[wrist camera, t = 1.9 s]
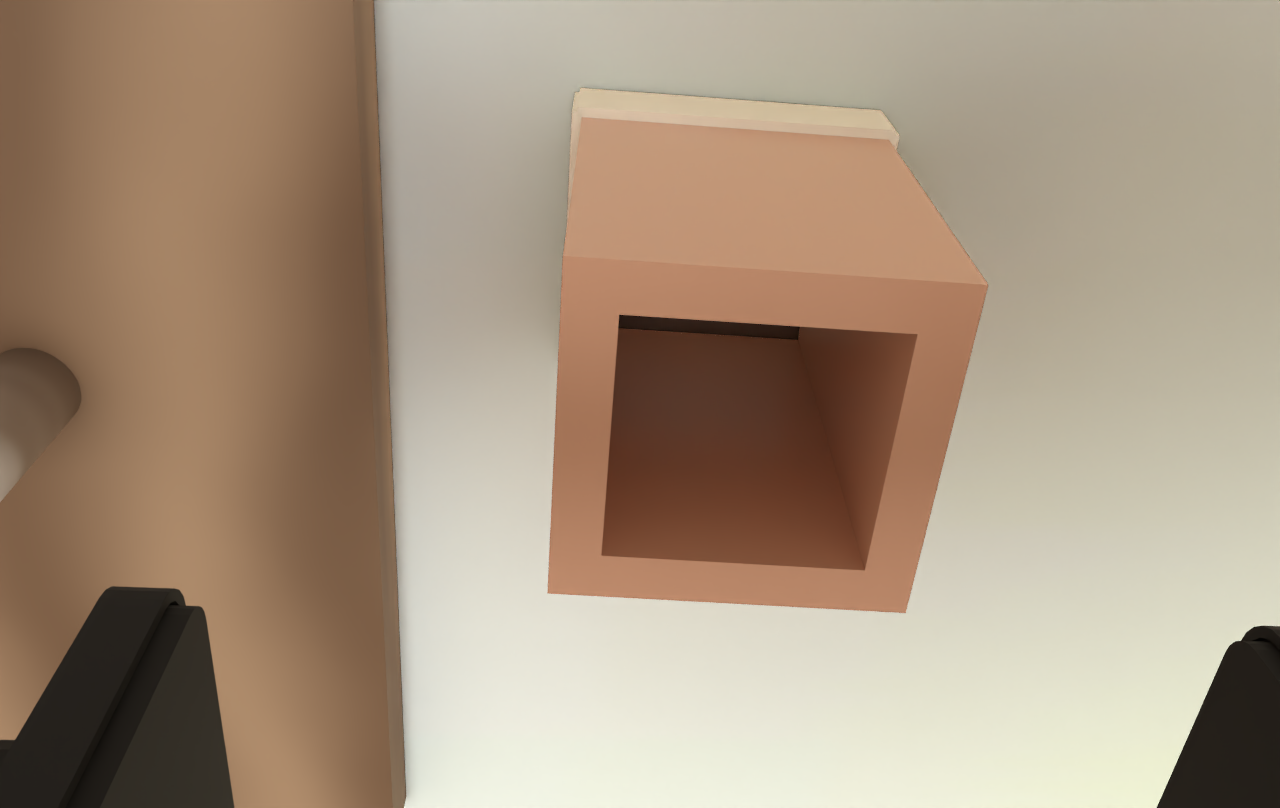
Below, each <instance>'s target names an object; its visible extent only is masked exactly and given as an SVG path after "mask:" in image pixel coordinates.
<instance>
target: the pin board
mask: <svg viewBox="0 0 1280 808" xmlns="http://www.w3.org/2000/svg"><path fill="white" fill-rule="evenodd" d="M111 586H118V587H147V588H175V589H178V590H180V591H181V593H182V594H183V596H184V600H185V604H186V606H200V607H202V608H203V610H204V612H205V616H206V620H207V627H208V634H209V640H210V647H211V654H212V660H213V667H214V674H215V680H216V687H217V694H218V701H219V707H220V714H221V721H222V727H223V734H224V741H225V747H226V754H227V761H228V768H229V774H230V781H231V788H232V794H233V801H234V808H404V804H405V799H406V786H405V761H404V737H403V713H402V688H401V664H400V639H399V615H398V590H397V566H396V541H395V517H394V492H393V468H392V443H391V419H390V394H389V370H388V345H387V321H386V297H385V272H384V248H383V223H382V199H381V174H380V150H379V125H378V101H377V76H376V52H375V27H374V3H373V0H0V740H15V739H16V738H17V736H18V734H19V732H20V731H21V729H22V727H23V726H24V724H25V722H26V721H27V719H28V717H29V716H30V714H31V712H32V710H33V709H34V707H35V705H36V704H37V702H38V700H39V699H40V697H41V695H42V694H43V692H44V690H45V688H46V687H47V685H48V683H49V682H50V680H51V678H52V677H53V675H54V673H55V672H56V670H57V668H58V667H59V665H60V663H61V661H62V660H63V658H64V656H65V655H66V653H67V651H68V650H69V648H70V646H71V645H72V643H73V641H74V639H75V638H76V636H77V634H78V633H79V631H80V629H81V628H82V626H83V624H84V623H85V621H86V619H87V617H88V616H89V614H90V612H91V611H92V609H93V607H94V606H95V604H96V602H97V601H98V599H99V597H100V596H101V595H102V593H103V592H104V591H105V590H106V589H108V588H109V587H111Z"/></svg>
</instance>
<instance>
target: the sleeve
mask: <svg viewBox="0 0 1280 808" xmlns="http://www.w3.org/2000/svg"><path fill="white" fill-rule="evenodd" d="M899 136H900V135H899V134H898V133H897V131H896V130H895V129H894V127H893V126H892V124H891V123H890V122H889V120H888V119H887V117H886V116H885V115H884V113H883V112H882V111H881V110H870V109H857V108H844V107H830V106H817V105H804V104H790V103H777V102H764V101H750V100H737V99H724V98H710V97H697V96H684V95H670V94H657V93H644V92H630V91H617V90H604V89H590V88H580V92H575V96H574V102H573V108H572V121H571V143H570V164H569V186H568V208H567V229H566V236H565V244H564V251H563V264H562V286H561V308H560V330H559V353H558V375H557V397H556V419H555V441H554V464H553V486H552V508H551V530H550V552H549V575H548V593H551V594H569V595H587V596H606V597H624V598H642V599H661V600H679V601H697V602H716V603H734V604H752V605H771V606H789V607H807V608H826V609H844V610H862V611H881V612H899V613H906V609H907V605H908V601H909V597H910V593H911V589H912V585H913V581H914V577H915V573H916V569H917V565H918V561H919V557H920V553H921V549H922V545H923V541H924V538H925V534H926V530H927V526H928V522H929V518H930V514H931V510H932V506H933V502H934V498H935V494H936V490H937V486H938V482H939V478H940V474H941V470H942V466H943V462H944V458H945V454H946V450H947V447H948V443H949V439H950V435H951V431H952V427H953V423H954V419H955V415H956V411H957V407H958V403H959V399H960V395H961V391H962V387H963V383H964V379H965V375H966V371H967V367H968V363H969V359H970V356H971V352H972V348H973V344H974V340H975V336H976V332H977V328H978V324H979V320H980V316H981V312H982V308H983V304H984V300H985V296H986V292H987V288H988V284H987V282H986V281H985V279H984V278H983V276H982V275H981V273H980V272H979V271H978V269H977V268H976V266H975V265H974V263H973V262H972V260H971V259H970V257H969V256H968V254H967V253H966V252H965V250H964V249H963V247H962V246H961V244H960V243H959V241H958V240H957V238H956V237H955V235H954V234H953V233H952V231H951V230H950V228H949V227H948V225H947V224H946V222H945V221H944V219H943V218H942V216H941V215H940V214H939V212H938V211H937V209H936V208H935V206H934V205H933V203H932V202H931V200H930V199H929V197H928V196H927V195H926V193H925V192H924V190H923V189H922V187H921V186H920V184H919V183H918V181H917V180H916V179H915V177H914V176H913V174H912V173H911V171H910V170H909V168H908V167H907V165H906V164H905V162H904V161H903V160H902V158H901V157H900V155H899V154H898V152H897V147H898V141H899ZM619 315H632V316H647V317H662V318H678V319H693V320H708V321H723V322H738V323H753V324H768V325H784V326H799V327H800V330H799V336H798V340H792V339H777V338H762V337H746V336H731V335H716V334H701V333H685V332H670V331H655V330H639V329H624V328H618V325H619Z"/></svg>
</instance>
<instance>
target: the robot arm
mask: <svg viewBox="0 0 1280 808" xmlns="http://www.w3.org/2000/svg"><path fill="white" fill-rule="evenodd" d="M0 808H234V801H233V794H232V788H231V781H230V774H229V768H228V761H227V754H226V747H225V741H224V734H223V727H222V721H221V714H220V707H219V701H218V694H217V687H216V680H215V674H214V667H213V660H212V654H211V647H210V640H209V634H208V627H207V620H206V616H205V612H204V610H203V608H202V607H200V606H186V604H185V600H184V596H183V594H182V593H181V591H180V590H178V589H175V588H147V587H118V586H111V587H109V588H108V589H106V590H105V591H104V592H103V593H102V595H101V596H100V597H99V599H98V601H97V602H96V604H95V606H94V607H93V609H92V611H91V612H90V614H89V616H88V617H87V619H86V621H85V623H84V624H83V626H82V628H81V629H80V631H79V633H78V634H77V636H76V638H75V639H74V641H73V643H72V645H71V646H70V648H69V650H68V651H67V653H66V655H65V656H64V658H63V660H62V661H61V663H60V665H59V667H58V668H57V670H56V672H55V673H54V675H53V677H52V678H51V680H50V682H49V683H48V685H47V687H46V688H45V690H44V692H43V694H42V695H41V697H40V699H39V700H38V702H37V704H36V705H35V707H34V709H33V710H32V712H31V714H30V716H29V717H28V719H27V721H26V722H25V724H24V726H23V727H22V729H21V731H20V732H19V734H18V736H17V738H16V739H15V740H0ZM1157 808H1280V626H1258V627H1253V628H1252V629H1251V630H1249V631H1248V632H1246V634H1245V636H1244V637H1243V639H1242V640H1241V641H1236V642H1234V643H1233V644H1231V645H1230V646H1229V648H1228V649H1227V651H1226V652H1225V655H1224V657H1223V659H1222V661H1221V664H1220V666H1219V668H1218V670H1217V673H1216V675H1215V677H1214V679H1213V682H1212V684H1211V686H1210V688H1209V691H1208V693H1207V695H1206V698H1205V700H1204V702H1203V704H1202V707H1201V709H1200V711H1199V713H1198V716H1197V718H1196V720H1195V722H1194V725H1193V727H1192V729H1191V731H1190V734H1189V736H1188V738H1187V741H1186V743H1185V745H1184V747H1183V750H1182V752H1181V754H1180V756H1179V759H1178V761H1177V763H1176V765H1175V768H1174V770H1173V772H1172V774H1171V777H1170V779H1169V781H1168V784H1167V786H1166V788H1165V790H1164V793H1163V795H1162V797H1161V799H1160V802H1159V804H1158V806H1157Z"/></svg>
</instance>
